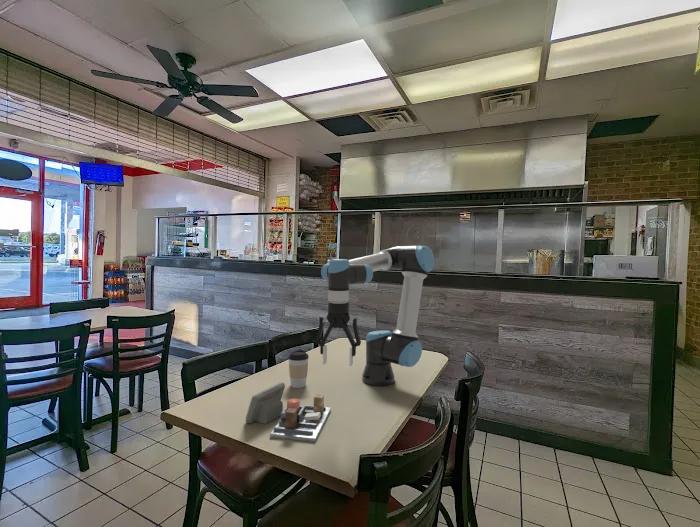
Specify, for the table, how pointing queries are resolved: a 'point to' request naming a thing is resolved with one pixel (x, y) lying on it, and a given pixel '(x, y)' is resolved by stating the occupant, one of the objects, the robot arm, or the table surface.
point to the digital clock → (266, 405)
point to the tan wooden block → (319, 403)
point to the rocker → (312, 416)
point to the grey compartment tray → (301, 425)
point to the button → (293, 404)
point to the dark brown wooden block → (291, 418)
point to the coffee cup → (298, 368)
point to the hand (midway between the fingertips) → (337, 363)
